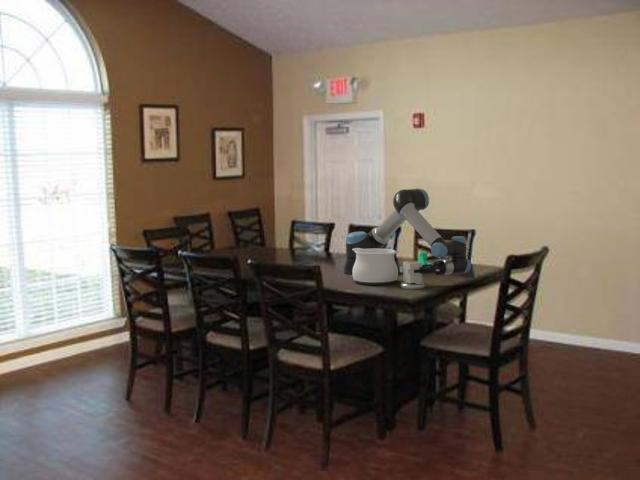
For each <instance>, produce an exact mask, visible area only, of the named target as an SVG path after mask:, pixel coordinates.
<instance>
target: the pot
mask: <svg viewBox="0 0 640 480" xmlns="http://www.w3.org/2000/svg"><path fill="white" fill-rule="evenodd" d="M352 250H353V251H355V250H356V251H355V253H356V261H355V264H354V266H353V271H352V274H351V275H352V278H353V280H354V282H355V283H357V284H360V285H365V286H386V285H391V284H394V283H395V282H396V281H397V279H398V277H399V269H398V266H397V264H396V263H397V262H396V260H395V255H396V254H399V252H400V251H399V250H398V251H396V250H395V249H390V248H386V249H361V248H354V249H352Z"/></svg>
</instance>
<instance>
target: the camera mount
mask: <svg viewBox="0 0 640 480" xmlns="http://www.w3.org/2000/svg"><path fill="white" fill-rule="evenodd" d="M427 259H428V252H427V251H420V252H419V254H418V259H417V261H418V262H422V265H424V264H427V265H429V264H432V265H433V264H434V263H431V262H427Z"/></svg>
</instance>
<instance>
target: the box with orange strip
mask: <svg viewBox="0 0 640 480" xmlns="http://www.w3.org/2000/svg"><path fill="white" fill-rule="evenodd" d="M402 267H403V272H402V278H403V279H402V282H408V283H417V282H423V273H422V274H421V273H419V274H407V269H412V268H419V269H420V267H422V262H418V260H407V261H403V262H402Z"/></svg>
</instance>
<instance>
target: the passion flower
mask: <svg viewBox="0 0 640 480" xmlns="http://www.w3.org/2000/svg"><path fill="white" fill-rule="evenodd" d="M436 259H440V260H452V256H446V257H436Z"/></svg>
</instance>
